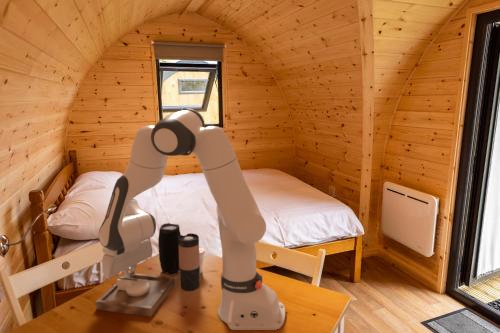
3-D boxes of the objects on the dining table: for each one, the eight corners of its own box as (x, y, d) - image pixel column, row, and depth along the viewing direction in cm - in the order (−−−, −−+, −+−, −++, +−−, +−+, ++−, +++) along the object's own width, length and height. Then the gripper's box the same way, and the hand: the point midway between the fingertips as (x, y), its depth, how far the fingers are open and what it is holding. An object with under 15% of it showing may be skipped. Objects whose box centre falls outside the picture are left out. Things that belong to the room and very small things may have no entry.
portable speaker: (160, 266, 144) (158, 223, 141) (182, 264, 146) (181, 221, 143) (159, 276, 136) (156, 230, 133) (182, 274, 138) (181, 229, 134)
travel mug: (196, 292, 125) (194, 242, 121) (176, 290, 127) (174, 240, 123) (203, 282, 132) (201, 234, 129) (184, 280, 134) (182, 232, 130)
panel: (175, 284, 131) (175, 276, 130) (151, 316, 111) (150, 307, 111) (127, 279, 134) (127, 271, 134) (96, 309, 115) (95, 300, 114)
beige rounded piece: (153, 285, 125) (152, 275, 125) (142, 297, 118) (142, 287, 117) (125, 282, 128) (124, 272, 127) (112, 294, 120) (112, 283, 119)
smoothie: (203, 275, 137) (203, 243, 134) (188, 275, 137) (187, 243, 134) (206, 268, 143) (205, 237, 141) (191, 268, 143) (190, 237, 141)
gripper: (143, 230, 134) (145, 263, 137) (98, 250, 117) (101, 286, 119) (155, 234, 131) (156, 267, 134) (110, 254, 114) (113, 291, 116)
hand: (130, 276), depth 126 cm, fingers closed
